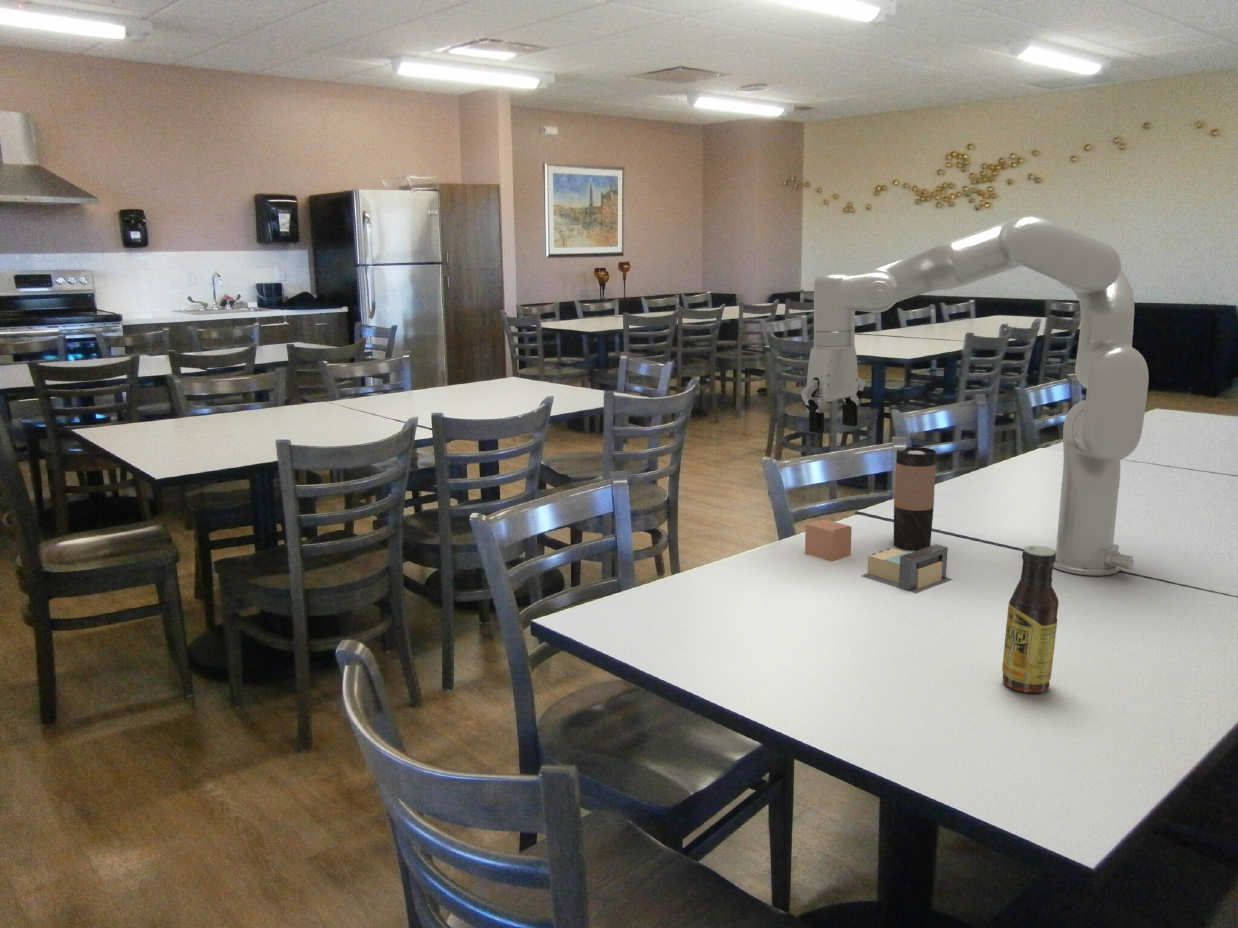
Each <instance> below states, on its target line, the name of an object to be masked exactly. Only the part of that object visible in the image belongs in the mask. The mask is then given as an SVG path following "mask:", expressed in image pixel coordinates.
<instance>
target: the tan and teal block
mask: <svg viewBox="0 0 1238 928" xmlns="http://www.w3.org/2000/svg"><path fill="white" fill-rule="evenodd" d="M909 553H911V551H906V550H902V549H898V548H897V549H896V548H894V547H890V548H886V549H885V550H884V549H883V550H880V551H878V552H874V553H871V554H869V555H867V556H868V557H867V573H868V574H871V575H874V576H877V577H881V578H884V579H887V580H890V581H894V582H897V583H899V568H900V556H903V555H906V554H909ZM941 577H942V562H941V561H938V562H936V563H934V564H931V565H928V566H925V567H922V568H920V569H917V570H916V589H919V588H922V587H925V586H927V585H930V584H933V583H935V582H938V581H941Z"/></svg>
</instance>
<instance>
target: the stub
mask: <svg viewBox="0 0 1238 928" xmlns="http://www.w3.org/2000/svg"><path fill="white" fill-rule="evenodd" d="M852 527H853V526H852V525H851V526H850V525H848V524H845V523H840V522H836V521H832V520H828V519H824V518H823V519H821V520H816V521H813V522H810V523H805V529H804V530H805V532H804V533H805V534H804V536H805V538H804V553H805V554H807V555H812V556H813V557H814V556H815V557H816V558H821V559H824V560H827V561H829V562H834V561H837V560H841V559H843V558H847V557H851V554H852Z"/></svg>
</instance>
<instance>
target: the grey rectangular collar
mask: <svg viewBox="0 0 1238 928" xmlns="http://www.w3.org/2000/svg"><path fill="white" fill-rule="evenodd" d="M948 549H949V547H948V546H945V545H941V544H933V545H930V547H927V548H924V549H921V550H918V551H911V552H910V553H909V554H906V555H903V556H900V568H899V588H898V589H900V588H902V589H901V590H903V589H905V590H904V591H907V590H908V591H907V592H910V591H912V590H914V589H916V570H917V569H920V568H922V567H925V566H928V565H931V564H934V563H936V562H938V561H941V562H942V577H941V579H943V578H946V577H947V567H948Z"/></svg>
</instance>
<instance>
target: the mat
mask: <svg viewBox="0 0 1238 928" xmlns="http://www.w3.org/2000/svg"><path fill="white" fill-rule="evenodd" d="M861 577H862V578H866V579H868V580H872V581H875V582H878V583H882V584H884V585H887V586H891V587H895V588H897V589H901V590H902V591H903V590H904V591H907V592H910V593H913V594H918V593H920V592H924V591H926V590H929V589H932V588H934V587H937V586H939V585H942V584H945V583H948V582H949V581H953V578H950V577H947V576H946V578H943V579H941V581H938V582H935V583H933V584H930V585H927V586H925V587H922V588H919V589H914V590H912V591H908V590H905V589H902V588H899V583H897V582H894V581H890V580H887V579H884V578H881V577H877V576H874V575H871V574H868V572H867V573H865V574H862V575H861Z"/></svg>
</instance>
